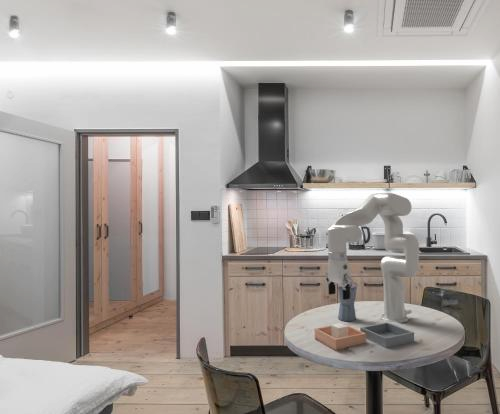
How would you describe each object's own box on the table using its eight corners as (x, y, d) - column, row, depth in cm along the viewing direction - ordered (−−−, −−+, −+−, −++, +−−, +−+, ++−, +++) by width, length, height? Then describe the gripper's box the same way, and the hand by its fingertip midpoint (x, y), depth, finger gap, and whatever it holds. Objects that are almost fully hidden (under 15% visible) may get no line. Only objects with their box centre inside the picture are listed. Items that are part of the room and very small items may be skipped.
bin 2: (387, 332, 165) (387, 322, 165) (414, 343, 151) (414, 332, 151) (360, 337, 159) (360, 327, 159) (386, 349, 145) (385, 338, 145)
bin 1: (343, 333, 165) (342, 323, 165) (366, 344, 151) (365, 333, 151) (314, 338, 159) (314, 328, 159) (335, 351, 145) (335, 339, 145)
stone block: (341, 336, 158) (340, 323, 158) (348, 340, 154) (348, 326, 154) (331, 338, 156) (331, 324, 156) (338, 342, 152) (338, 328, 152)
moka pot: (348, 324, 177) (347, 282, 177) (329, 316, 191) (328, 277, 191) (364, 321, 181) (363, 280, 181) (344, 313, 195) (343, 275, 195)
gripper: (358, 257, 149) (359, 299, 149) (332, 252, 165) (334, 291, 165) (343, 259, 146) (344, 302, 146) (318, 254, 162) (319, 293, 162)
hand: (339, 296), depth 155 cm, fingers open, 9 cm apart
